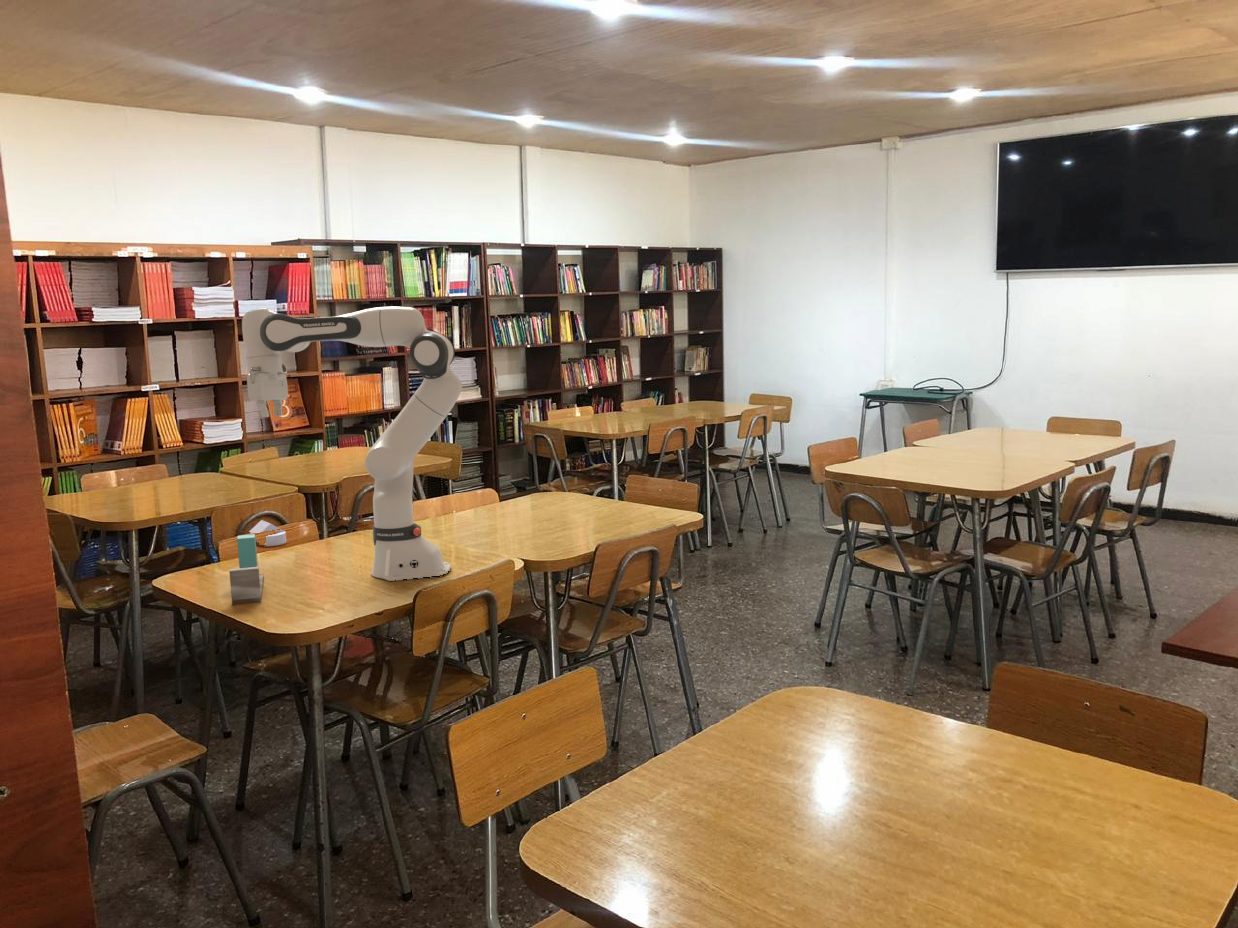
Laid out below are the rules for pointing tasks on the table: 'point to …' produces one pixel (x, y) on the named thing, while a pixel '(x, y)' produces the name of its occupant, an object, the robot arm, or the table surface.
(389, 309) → the robot arm
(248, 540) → the block
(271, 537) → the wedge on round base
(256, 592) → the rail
